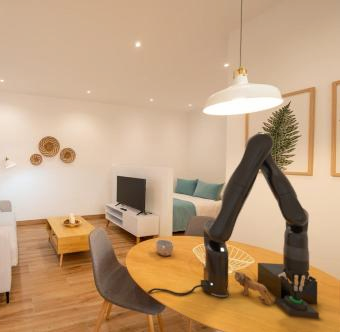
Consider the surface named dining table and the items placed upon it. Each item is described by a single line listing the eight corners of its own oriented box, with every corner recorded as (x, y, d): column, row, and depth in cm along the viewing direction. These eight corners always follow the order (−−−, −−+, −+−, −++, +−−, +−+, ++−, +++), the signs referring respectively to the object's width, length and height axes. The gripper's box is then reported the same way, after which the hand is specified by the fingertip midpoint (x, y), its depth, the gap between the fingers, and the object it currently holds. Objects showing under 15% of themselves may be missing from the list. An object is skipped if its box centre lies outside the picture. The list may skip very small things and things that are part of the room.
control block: (289, 315, 83) (289, 305, 83) (274, 302, 91) (274, 293, 90) (318, 318, 81) (318, 308, 81) (301, 304, 89) (301, 295, 89)
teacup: (159, 249, 147) (159, 237, 147) (175, 253, 141) (175, 241, 141) (152, 256, 136) (152, 244, 136) (169, 261, 130) (169, 248, 129)
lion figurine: (232, 291, 99) (232, 272, 99) (236, 287, 102) (236, 268, 102) (273, 307, 87) (274, 286, 87) (276, 302, 91) (276, 281, 91)
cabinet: (257, 281, 107) (257, 262, 107) (288, 283, 105) (288, 264, 105) (280, 301, 91) (281, 279, 91) (317, 304, 89) (317, 281, 89)
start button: (294, 305, 84) (294, 301, 84) (287, 300, 88) (287, 295, 88) (304, 306, 84) (304, 302, 84) (297, 300, 87) (297, 296, 87)
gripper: (306, 253, 89) (306, 294, 89) (271, 251, 90) (271, 292, 91) (323, 261, 81) (323, 306, 81) (284, 259, 83) (284, 303, 83)
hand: (295, 298), depth 86 cm, fingers closed
